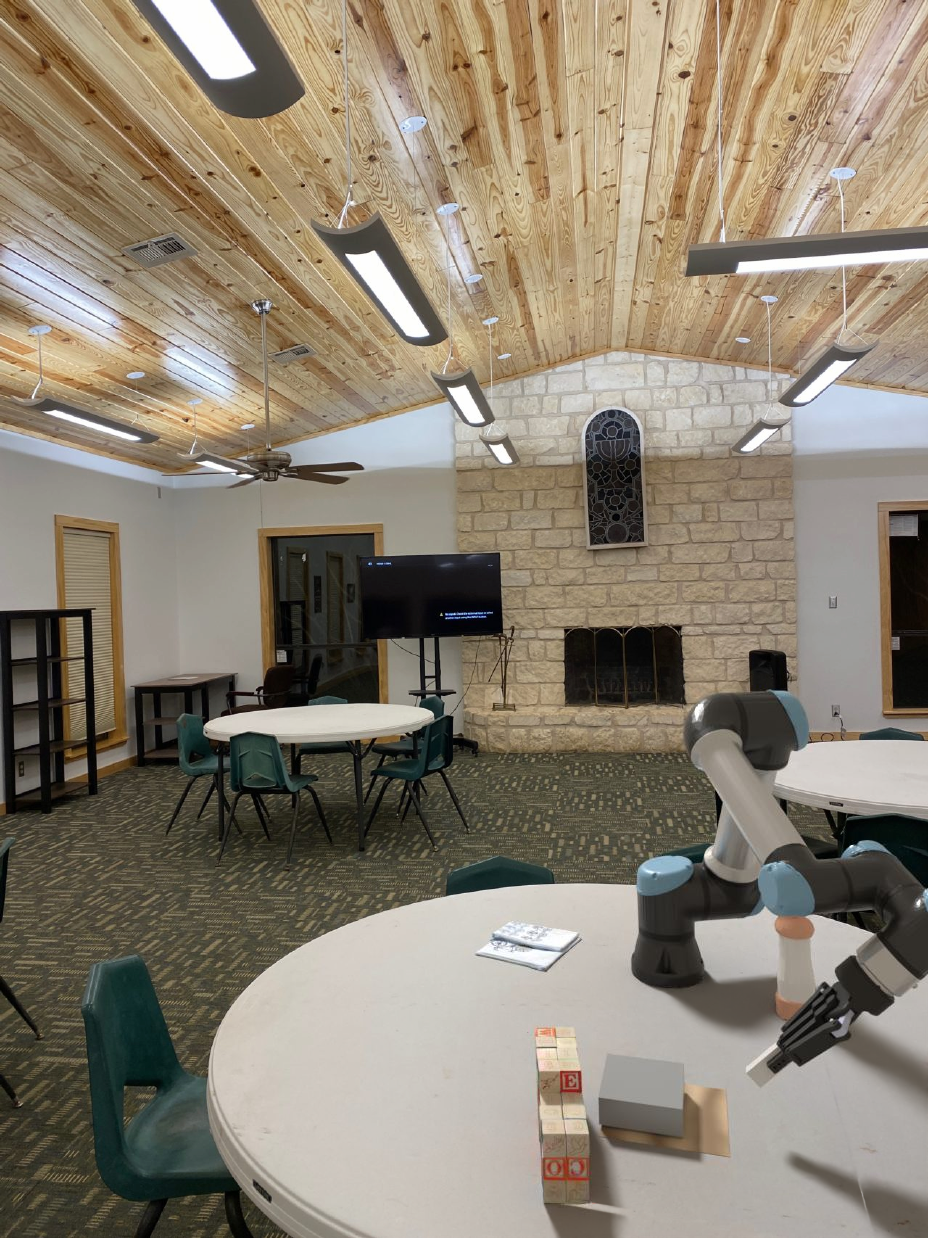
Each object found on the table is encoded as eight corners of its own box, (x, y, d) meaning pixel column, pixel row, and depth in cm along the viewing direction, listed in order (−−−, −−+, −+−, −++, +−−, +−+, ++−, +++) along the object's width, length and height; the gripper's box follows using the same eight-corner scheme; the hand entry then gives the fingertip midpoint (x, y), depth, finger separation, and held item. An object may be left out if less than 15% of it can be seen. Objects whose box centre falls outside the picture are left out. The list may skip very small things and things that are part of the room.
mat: (726, 1093, 124) (725, 1089, 124) (730, 1161, 109) (729, 1157, 109) (611, 1078, 130) (610, 1074, 130) (599, 1140, 114) (599, 1136, 114)
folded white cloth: (582, 941, 186) (582, 932, 186) (544, 975, 169) (544, 965, 169) (512, 926, 196) (511, 917, 196) (469, 957, 179) (469, 947, 179)
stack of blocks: (591, 1206, 102) (588, 1111, 102) (542, 1205, 102) (539, 1111, 102) (576, 1104, 123) (574, 1025, 123) (536, 1103, 124) (534, 1025, 124)
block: (683, 1063, 124) (607, 1053, 128) (682, 1109, 113) (598, 1097, 116) (684, 1091, 124) (608, 1081, 128) (683, 1140, 113) (599, 1127, 116)
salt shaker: (818, 1008, 150) (815, 908, 150) (817, 1027, 143) (814, 922, 143) (777, 1002, 153) (774, 903, 153) (774, 1019, 146) (771, 917, 146)
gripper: (908, 1020, 103) (776, 1126, 108) (886, 976, 116) (769, 1073, 121) (862, 975, 105) (734, 1082, 110) (846, 937, 118) (732, 1034, 122)
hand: (753, 1077), depth 115 cm, fingers closed
